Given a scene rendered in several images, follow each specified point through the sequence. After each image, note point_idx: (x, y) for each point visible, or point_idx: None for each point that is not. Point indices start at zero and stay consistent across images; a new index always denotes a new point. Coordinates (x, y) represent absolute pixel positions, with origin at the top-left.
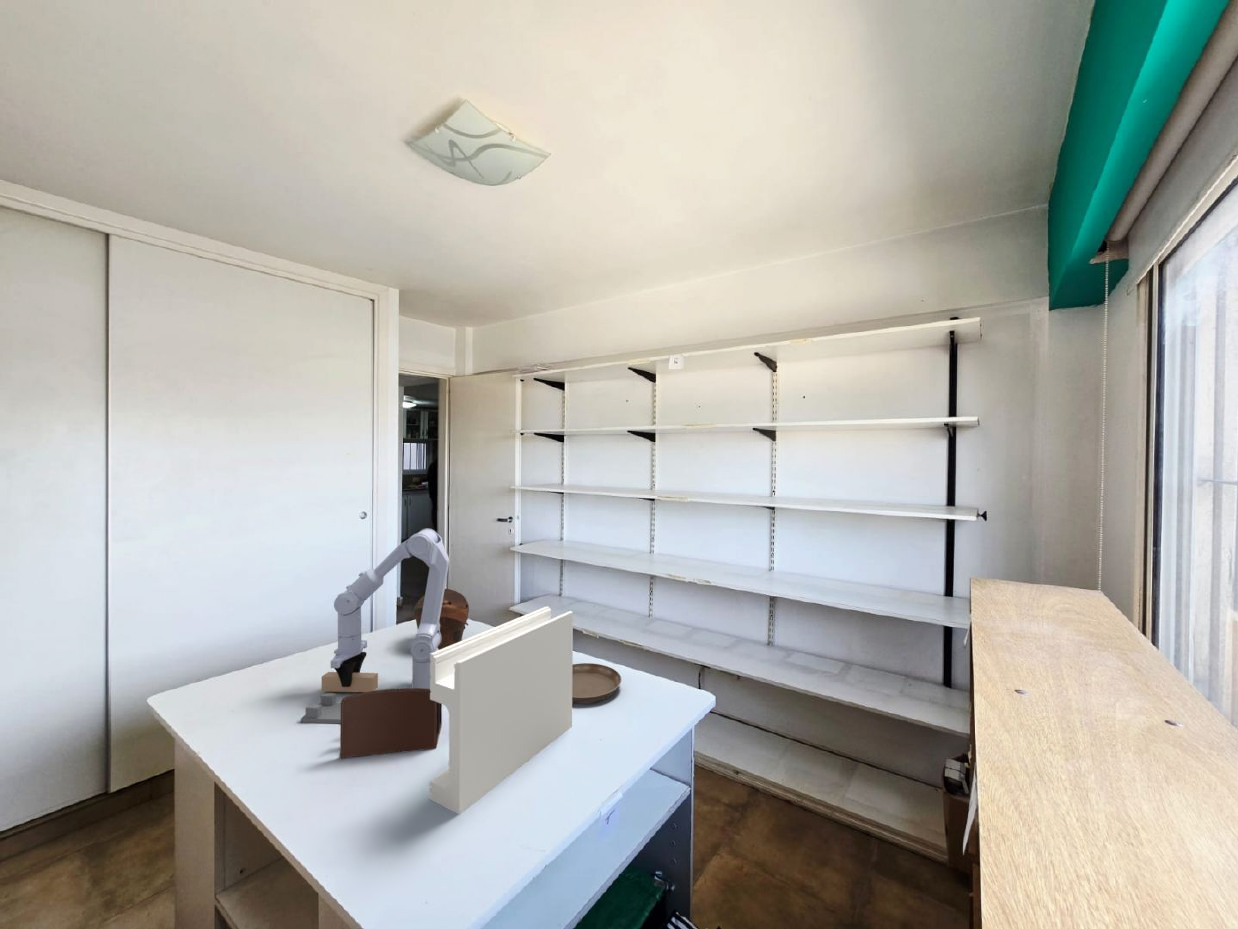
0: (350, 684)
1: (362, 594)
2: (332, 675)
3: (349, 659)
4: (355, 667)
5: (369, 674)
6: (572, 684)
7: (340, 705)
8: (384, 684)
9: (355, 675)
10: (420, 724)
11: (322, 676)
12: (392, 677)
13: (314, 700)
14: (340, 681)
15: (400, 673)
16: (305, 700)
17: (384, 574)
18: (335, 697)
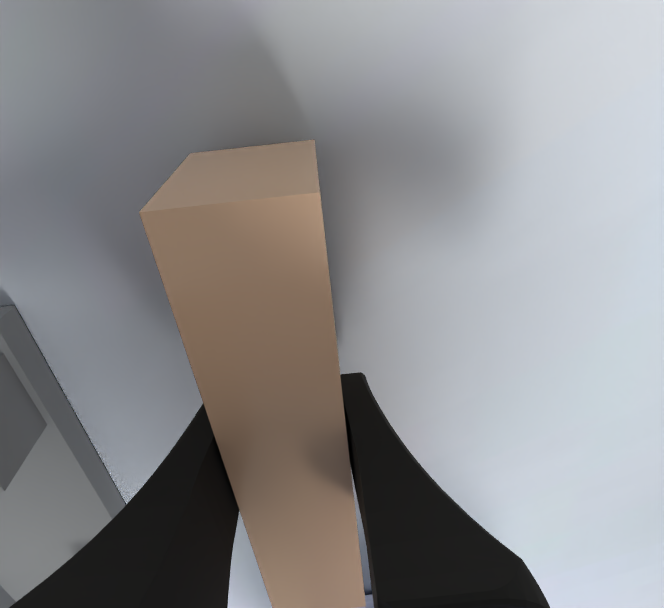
0: None
1: None
2: (224, 329)
3: (375, 602)
4: (365, 533)
5: (329, 581)
6: None
7: (38, 466)
8: (434, 474)
9: (287, 518)
10: None
11: (148, 222)
12: (540, 464)
13: (61, 173)
14: (192, 421)
15: (600, 474)
16: (14, 72)
17: None
18: (17, 465)
